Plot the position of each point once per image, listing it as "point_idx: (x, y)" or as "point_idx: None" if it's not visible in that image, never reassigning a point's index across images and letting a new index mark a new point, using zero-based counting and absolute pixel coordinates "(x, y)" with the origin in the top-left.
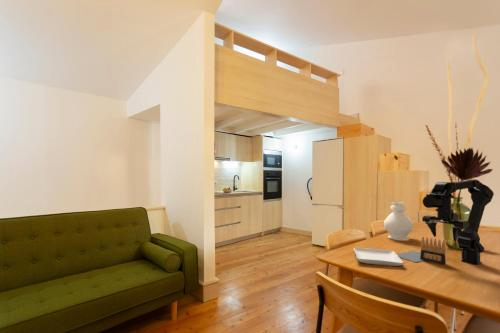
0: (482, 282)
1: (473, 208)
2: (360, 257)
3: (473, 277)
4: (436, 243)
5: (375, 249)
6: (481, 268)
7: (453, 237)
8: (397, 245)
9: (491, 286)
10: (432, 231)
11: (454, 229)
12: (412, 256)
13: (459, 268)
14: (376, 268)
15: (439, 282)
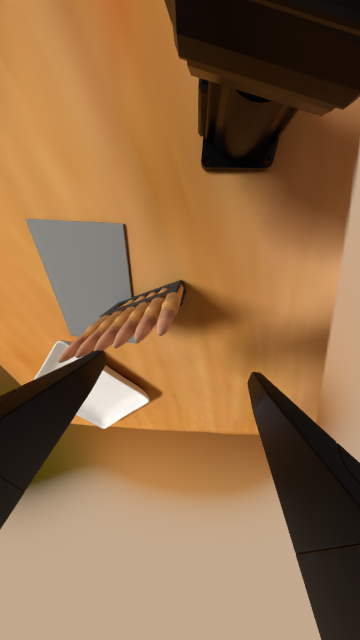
0: (297, 354)
1: None
2: (85, 403)
3: (275, 337)
4: (135, 329)
5: (45, 365)
6: (294, 205)
7: (257, 420)
8: None
9: (316, 364)
10: (71, 415)
11: (349, 632)
12: (94, 303)
13: (228, 291)
14: (134, 413)
15: (227, 405)
